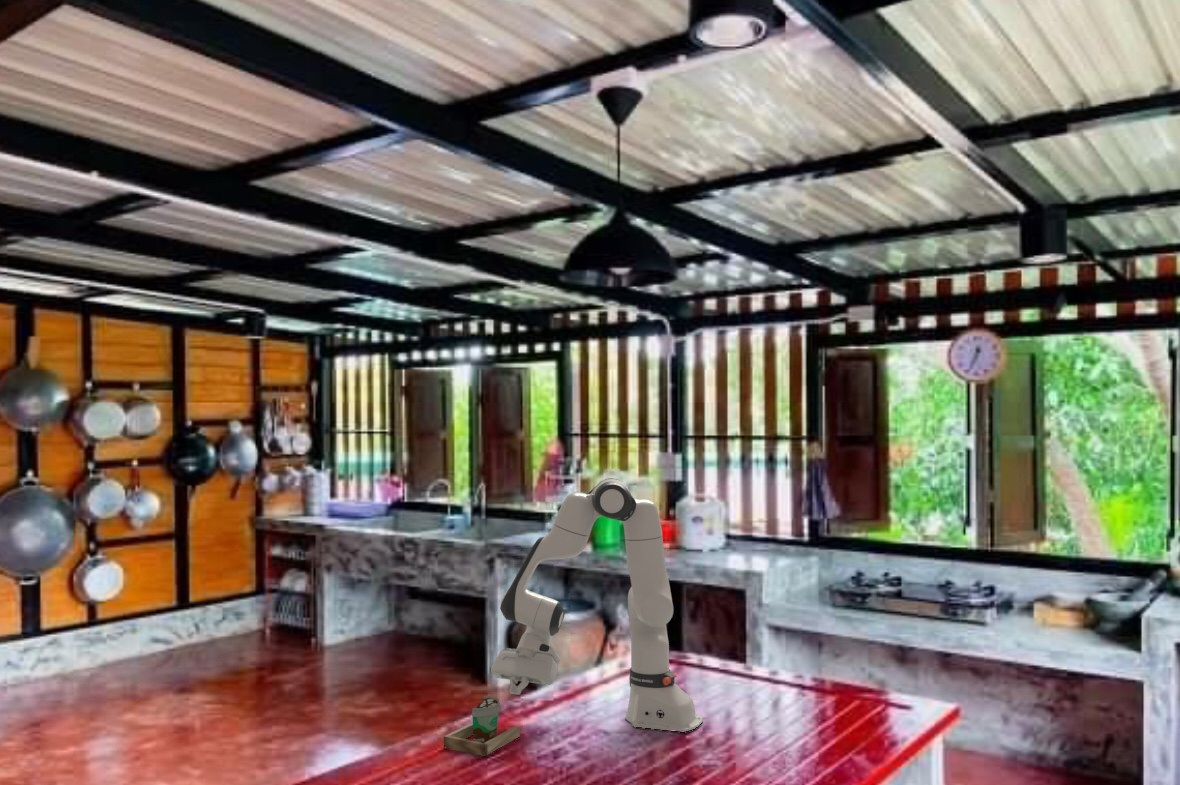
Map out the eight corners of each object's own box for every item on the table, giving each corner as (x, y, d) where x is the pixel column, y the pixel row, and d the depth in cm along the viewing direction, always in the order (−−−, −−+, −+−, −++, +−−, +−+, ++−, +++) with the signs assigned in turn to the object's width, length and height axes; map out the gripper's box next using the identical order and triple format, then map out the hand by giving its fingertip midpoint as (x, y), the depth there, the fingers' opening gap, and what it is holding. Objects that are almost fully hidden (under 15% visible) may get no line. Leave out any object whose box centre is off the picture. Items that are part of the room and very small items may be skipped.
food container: (493, 748, 241) (494, 710, 241) (471, 746, 242) (471, 708, 242) (506, 732, 253) (506, 696, 254) (484, 731, 254) (485, 695, 255)
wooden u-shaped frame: (519, 737, 249) (519, 726, 249) (484, 757, 235) (484, 745, 235) (479, 729, 255) (479, 718, 256) (443, 747, 241) (443, 736, 241)
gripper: (498, 641, 270) (479, 682, 261) (557, 648, 261) (540, 691, 252) (506, 653, 274) (488, 694, 265) (565, 660, 265) (548, 703, 256)
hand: (514, 693), depth 258 cm, fingers closed
